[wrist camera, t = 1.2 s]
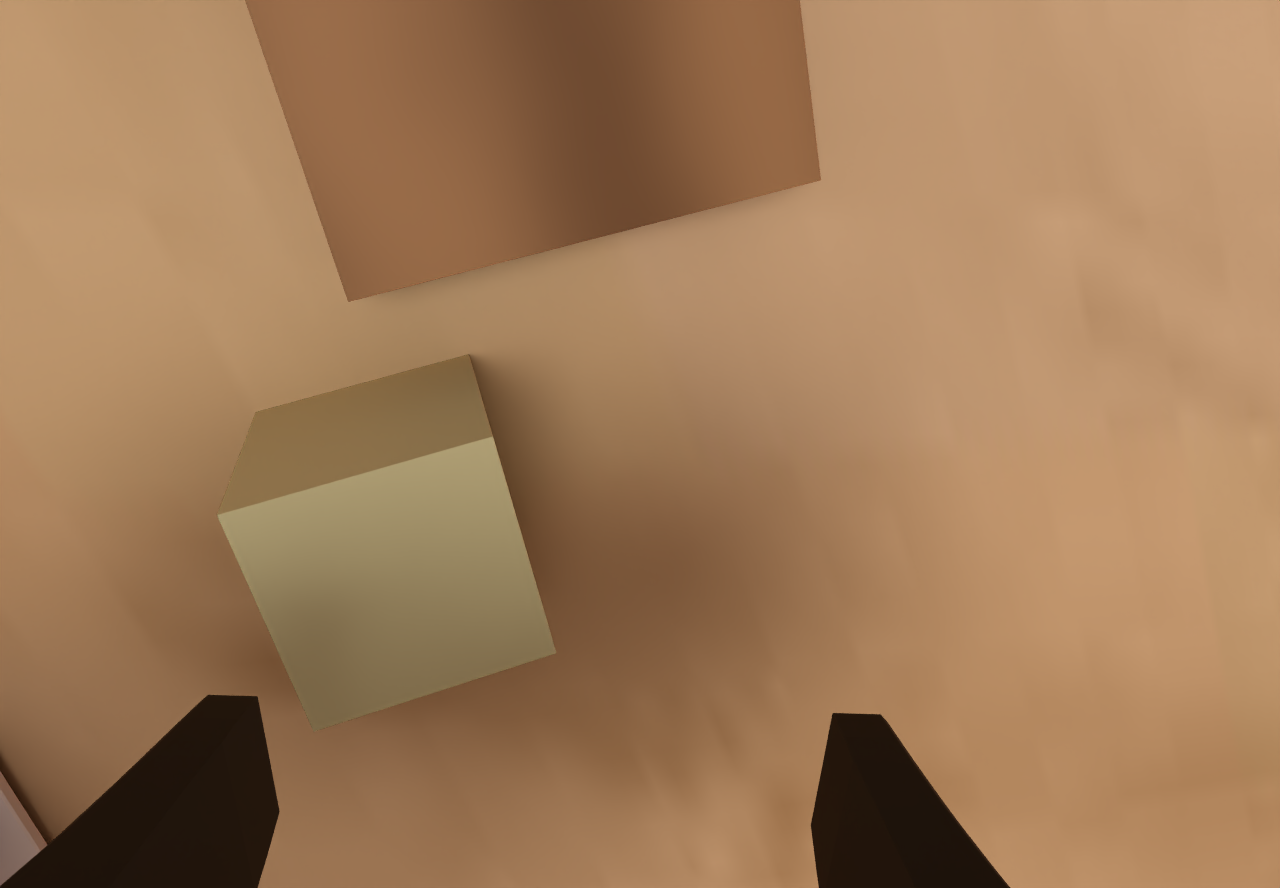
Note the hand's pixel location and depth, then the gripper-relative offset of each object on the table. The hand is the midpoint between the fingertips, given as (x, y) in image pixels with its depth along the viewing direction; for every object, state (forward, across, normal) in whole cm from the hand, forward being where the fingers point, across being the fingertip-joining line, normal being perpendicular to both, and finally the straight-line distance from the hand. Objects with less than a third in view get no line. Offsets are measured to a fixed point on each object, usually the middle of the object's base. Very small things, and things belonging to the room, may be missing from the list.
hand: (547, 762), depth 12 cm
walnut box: (+11, +2, -8) cm, 14 cm away
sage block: (+9, +4, +1) cm, 10 cm away
